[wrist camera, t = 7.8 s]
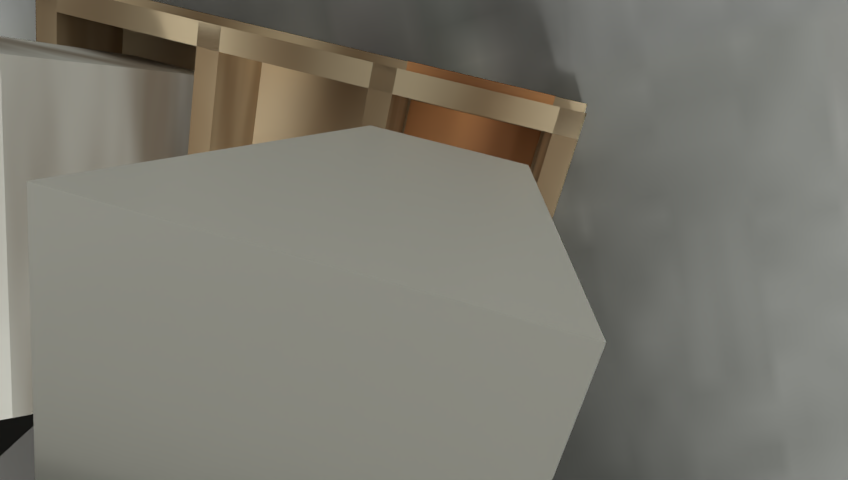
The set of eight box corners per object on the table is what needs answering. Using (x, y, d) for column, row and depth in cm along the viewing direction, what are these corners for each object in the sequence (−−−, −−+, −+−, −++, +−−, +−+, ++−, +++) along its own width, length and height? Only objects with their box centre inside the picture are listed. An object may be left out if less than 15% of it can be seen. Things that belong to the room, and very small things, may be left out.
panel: (528, 164, 11) (606, 342, 3) (433, 485, 14) (334, 1033, 6) (370, 125, 12) (26, 181, 3) (309, 446, 15) (47, 911, 6)
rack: (582, 104, 18) (671, 99, 9) (483, 415, 22) (468, 642, 13) (116, -7, 20) (-241, -113, 10) (106, 301, 24) (-154, 427, 15)
